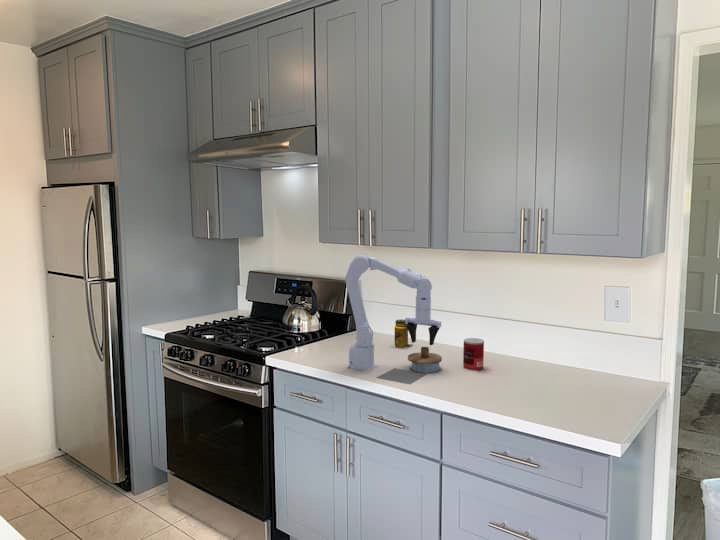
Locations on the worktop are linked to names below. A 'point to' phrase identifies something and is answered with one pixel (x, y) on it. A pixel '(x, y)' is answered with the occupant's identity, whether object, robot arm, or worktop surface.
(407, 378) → the mat
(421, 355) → the lid
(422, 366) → the bowl
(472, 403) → the worktop surface
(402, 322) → the condiment
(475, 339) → the canned food
